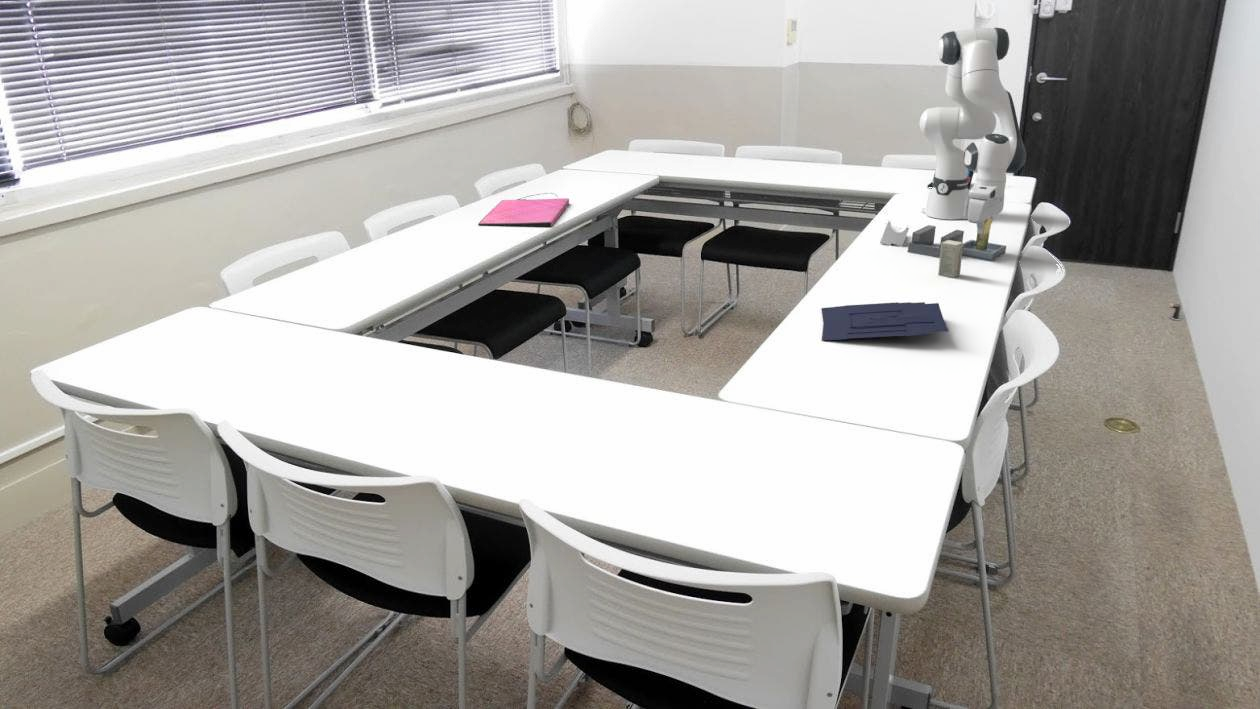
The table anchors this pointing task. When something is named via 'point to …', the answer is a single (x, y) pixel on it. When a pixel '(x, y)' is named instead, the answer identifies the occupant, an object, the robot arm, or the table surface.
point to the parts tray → (983, 251)
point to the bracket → (893, 234)
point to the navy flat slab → (881, 320)
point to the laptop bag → (525, 213)
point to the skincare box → (950, 258)
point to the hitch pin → (983, 236)
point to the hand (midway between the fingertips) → (983, 231)
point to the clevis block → (930, 241)
